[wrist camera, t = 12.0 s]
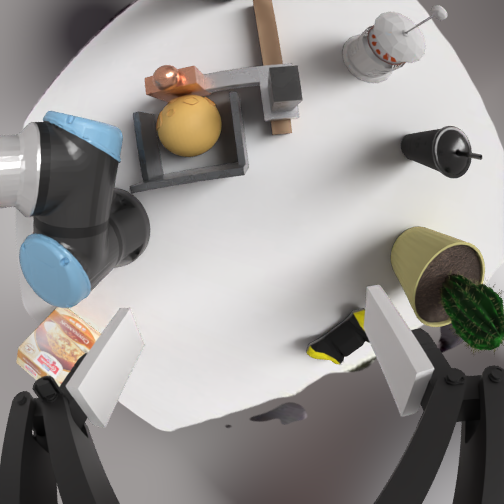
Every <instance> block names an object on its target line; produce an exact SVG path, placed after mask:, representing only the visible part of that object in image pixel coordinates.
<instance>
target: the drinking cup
mask: <svg viewBox="0 0 504 504" xmlns="http://www.w3.org/2000/svg"><path fill="white" fill-rule="evenodd" d="M401 149H402V152H403V154H404V155H405V156H406V157H407V158H408V159H410V160H413V161H415V162H418V163H420V164H423V165H425V166H428V167H430V168H432V169H435V170H437V171H439V172H441V173H442V174H443V175H445V176H446V177H449V178H459V177H461V176H462V175H464V174H465V173H466V171H467V170H468V168H469V166H470V163H471V158H475V159H479V160H481V159H482V155H481V154H475V153H472V151H471V145H470V142H469V140H468V138H467V136H466V135H465V134H464V132H463V131H461V130H460V129H459V128H457V127H454V126H446V127H443V128H441V129H437V130H431V131H425V132H419V133H413V134H408V135H406V136H405V137H404V138H403V140H402V143H401Z"/></svg>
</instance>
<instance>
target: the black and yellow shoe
mask: <svg viewBox="0 0 504 504" xmlns="http://www.w3.org/2000/svg"><path fill="white" fill-rule="evenodd" d="M364 318H365V309H364V308H362V309H358V310H354V311H352V313H351V314H350V315H349V316H348V318H346V319H345V320H344V321H343V322H341V323H340V324H339V325H338V326H336V327H335V328H334V329H332V330H331V331H330V332H328V333H327V334H325V335H324V336H322V337H321V338H319V339H317V340H315V341H313V342H312V343H310V344H309V345H308V347H307V350H306V353H307V354H308V355H309V356H310V357H312V358H314V359H324V360H331V361H332V362H333V363H335V364H339V365H342V364H343V363H344V361H343V360H344V356H346V357H347V356H348V355H350V354H351V353H352V352H354V351H355V350H357V349H358V348H359V347H361V346H362V345H363V344H364V342H365V341H367V342H370V341H369V339H368V337H367V335H366V332H365V330H364Z"/></svg>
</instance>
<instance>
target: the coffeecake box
mask: <svg viewBox="0 0 504 504" xmlns="http://www.w3.org/2000/svg"><path fill="white" fill-rule="evenodd" d="M100 335H101V334H100V333H99V332H98V331H96V330H95V329H94V328H92V327H91V326H90V325H88V324H87V323H86V322H84V321H83V320H82V319H80V318H79V317H78V316H77V315H75V314H74V313H73V312H72V311H71V310H69V309H68V308H59V307H57V308H56V309H55V310H54V311H53V312H52V313H51V314H50V315H49V316H48V317H47V318H46V319H45V320H44V321H43V322H42V323H41V324H40V325H39V326H38V327H37V329H35V331H33V333H32V334H31V335H30V336H29V337H28V338H27V339H26V340H25V341H24V342H23V343H22V344H21V345H20V347H19V348H18V356H17V364H19V365H20V366H21V367H22V368H23V369H24V370H25V371H26V372H28V373H29V374H30V375H31V376H32V377H33V378H35V379H36V380H38V379H39V378H41V377H43V376H51V377H53V378H54V380H55V381H56V383H57V384H58V386H59V387H60V385H61V384H62V382H63V381H64V379H65V378H66V376H67V375H68V373H69V372H71V369H72V367H74V364H75V363H76V362H77V360H78V359H79V358H80V357H81V356H82V355H84V354H85V353H88V352H89V350H90V349H91V348H92V346H93V345H94V343H95V342H96V340H97V339H98V338H99V336H100Z"/></svg>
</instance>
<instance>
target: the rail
mask: <svg viewBox="0 0 504 504" xmlns="http://www.w3.org/2000/svg"><path fill="white" fill-rule="evenodd" d="M253 6H254V12H255V18H256V24H257V30H258V37H259V43H260V49H261V56H262V63H263V66H266V65H278V64H283V63H282V56H281V50H280V44H279V38H278V32H277V26H276V21H275V15H274V10H273V5H272V0H253ZM271 129H272V135H276V134H287V133H292V128H291V120H290V119H286V120H275V121H271Z"/></svg>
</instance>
